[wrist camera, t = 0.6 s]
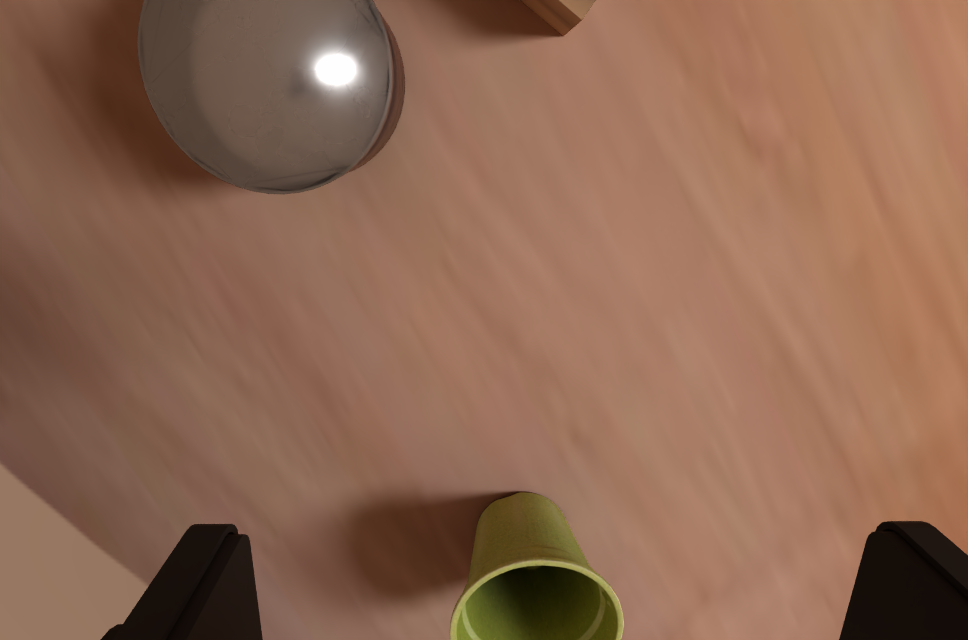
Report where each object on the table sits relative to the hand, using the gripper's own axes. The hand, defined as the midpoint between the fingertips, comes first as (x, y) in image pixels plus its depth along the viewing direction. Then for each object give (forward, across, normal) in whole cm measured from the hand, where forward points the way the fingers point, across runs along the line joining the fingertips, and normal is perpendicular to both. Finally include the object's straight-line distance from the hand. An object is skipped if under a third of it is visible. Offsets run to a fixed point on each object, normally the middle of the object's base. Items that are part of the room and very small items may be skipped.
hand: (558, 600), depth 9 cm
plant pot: (+26, -3, +19) cm, 33 cm away
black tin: (+26, +10, -9) cm, 29 cm away
